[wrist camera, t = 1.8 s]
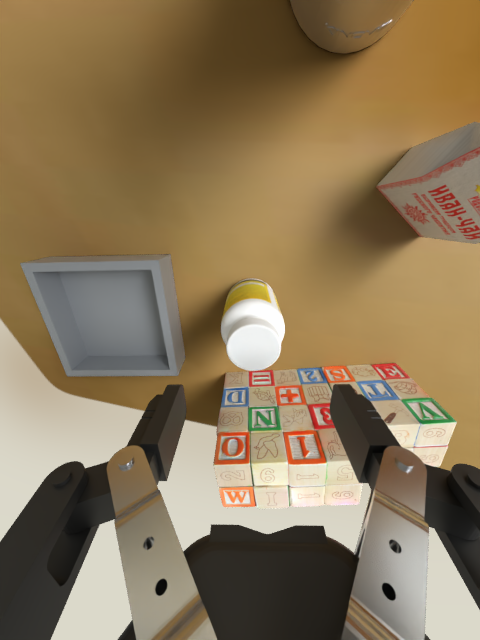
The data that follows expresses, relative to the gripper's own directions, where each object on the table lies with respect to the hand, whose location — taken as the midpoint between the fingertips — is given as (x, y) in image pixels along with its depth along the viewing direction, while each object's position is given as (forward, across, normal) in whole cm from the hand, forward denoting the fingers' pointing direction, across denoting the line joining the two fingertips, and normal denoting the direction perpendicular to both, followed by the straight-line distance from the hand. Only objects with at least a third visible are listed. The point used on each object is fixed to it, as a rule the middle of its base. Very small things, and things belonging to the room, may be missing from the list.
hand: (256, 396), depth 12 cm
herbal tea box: (+15, -15, -10) cm, 23 cm away
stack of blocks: (+15, -7, +12) cm, 20 cm away
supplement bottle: (+15, 0, 0) cm, 15 cm away
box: (+14, +14, +1) cm, 21 cm away
